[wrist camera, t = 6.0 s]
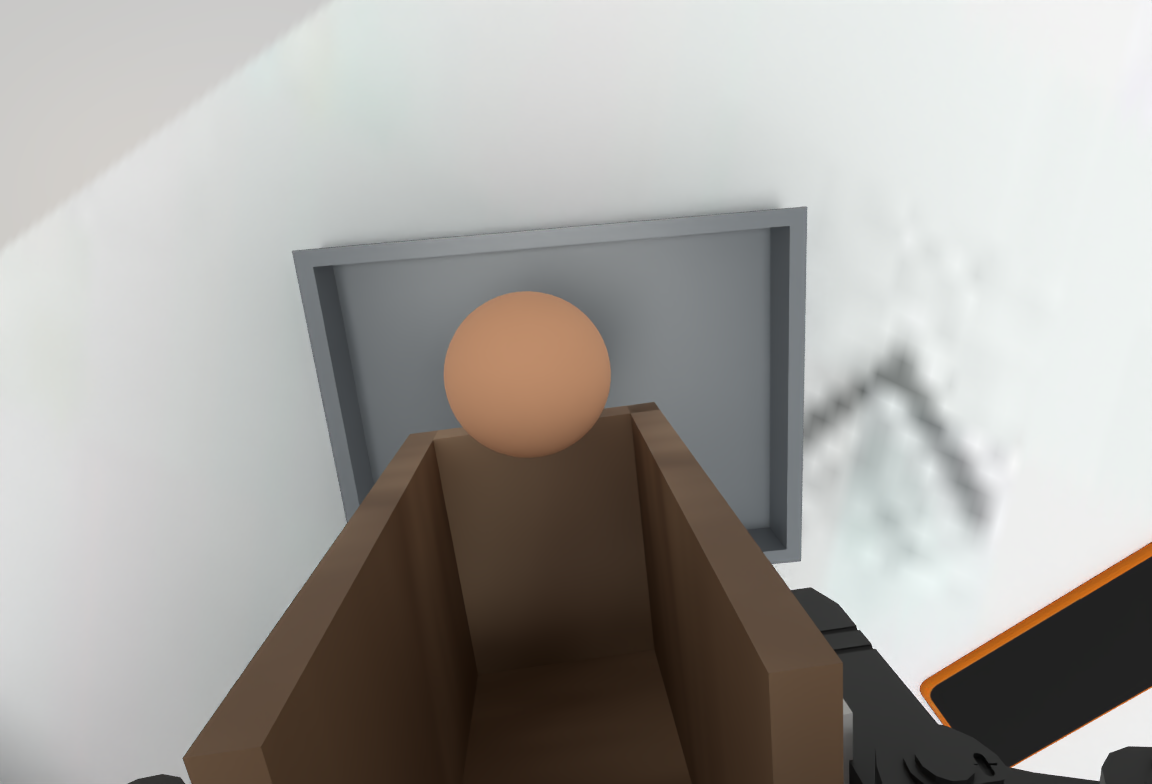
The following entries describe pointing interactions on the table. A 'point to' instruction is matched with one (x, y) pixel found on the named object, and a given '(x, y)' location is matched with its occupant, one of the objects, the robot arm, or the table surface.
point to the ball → (527, 374)
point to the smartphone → (1054, 666)
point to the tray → (625, 322)
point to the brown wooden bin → (537, 633)
